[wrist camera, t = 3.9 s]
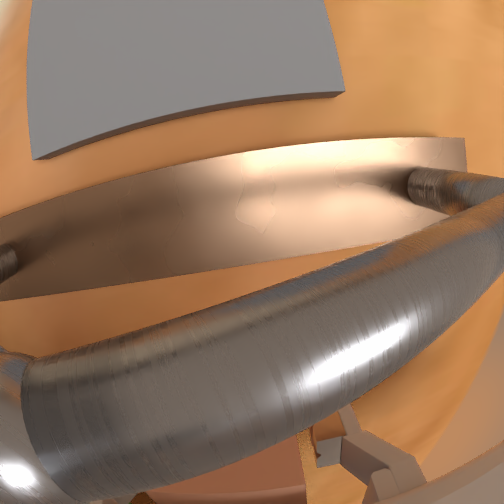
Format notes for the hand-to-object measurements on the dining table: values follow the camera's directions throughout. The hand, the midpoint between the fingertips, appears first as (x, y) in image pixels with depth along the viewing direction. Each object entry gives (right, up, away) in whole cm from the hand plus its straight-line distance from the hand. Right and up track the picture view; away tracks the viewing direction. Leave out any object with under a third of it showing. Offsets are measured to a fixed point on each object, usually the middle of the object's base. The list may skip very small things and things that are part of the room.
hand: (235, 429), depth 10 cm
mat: (-2, +15, -3) cm, 16 cm away
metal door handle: (-1, +8, 0) cm, 8 cm away
